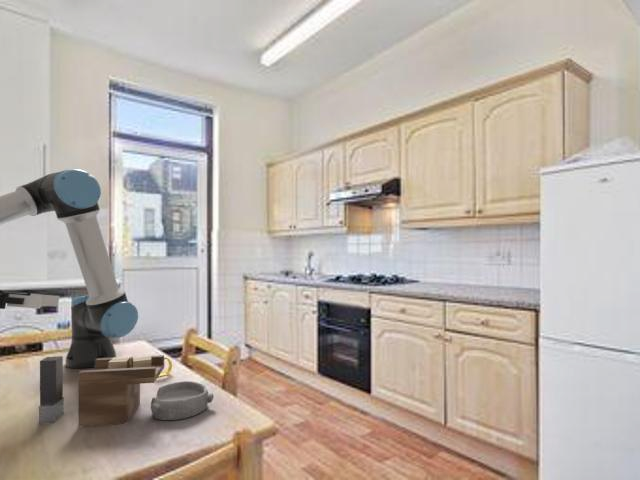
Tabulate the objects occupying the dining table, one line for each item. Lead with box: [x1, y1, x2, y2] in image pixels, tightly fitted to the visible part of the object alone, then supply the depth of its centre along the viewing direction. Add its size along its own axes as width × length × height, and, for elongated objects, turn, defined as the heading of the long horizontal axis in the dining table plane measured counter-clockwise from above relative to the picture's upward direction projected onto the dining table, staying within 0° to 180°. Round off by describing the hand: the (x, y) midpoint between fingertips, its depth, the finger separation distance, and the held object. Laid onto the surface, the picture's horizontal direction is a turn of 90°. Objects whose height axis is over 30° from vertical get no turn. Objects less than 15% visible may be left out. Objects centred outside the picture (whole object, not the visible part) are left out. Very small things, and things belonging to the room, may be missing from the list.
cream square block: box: [108, 356, 132, 369], centre depth 99 cm, size 4×4×3 cm
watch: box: [158, 355, 173, 378], centre depth 128 cm, size 6×3×6 cm, turn 136°
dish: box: [150, 380, 215, 421], centre depth 102 cm, size 14×14×5 cm
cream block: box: [132, 354, 152, 368], centre depth 100 cm, size 4×4×3 cm
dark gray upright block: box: [38, 355, 65, 425], centre depth 97 cm, size 6×3×14 cm, turn 10°
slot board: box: [77, 354, 165, 428], centre depth 99 cm, size 12×16×12 cm
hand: (50, 301), depth 103 cm, fingers open, 13 cm apart
